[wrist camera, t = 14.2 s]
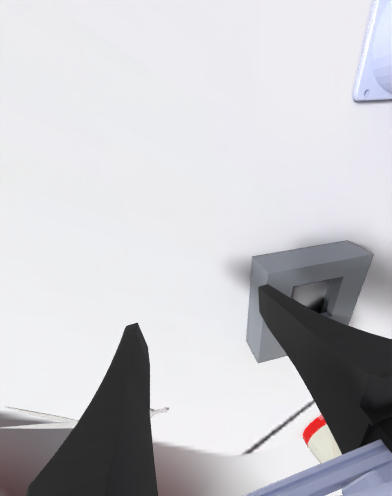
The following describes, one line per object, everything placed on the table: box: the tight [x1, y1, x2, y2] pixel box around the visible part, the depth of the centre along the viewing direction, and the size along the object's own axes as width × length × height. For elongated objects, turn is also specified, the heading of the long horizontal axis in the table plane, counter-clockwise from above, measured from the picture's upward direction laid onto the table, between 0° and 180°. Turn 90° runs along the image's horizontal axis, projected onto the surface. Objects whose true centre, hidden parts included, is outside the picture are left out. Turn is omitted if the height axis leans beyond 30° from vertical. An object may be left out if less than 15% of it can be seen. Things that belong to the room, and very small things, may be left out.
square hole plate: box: [246, 241, 374, 363], centre depth 27 cm, size 12×13×3 cm
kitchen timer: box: [303, 415, 342, 464], centre depth 44 cm, size 14×14×15 cm
